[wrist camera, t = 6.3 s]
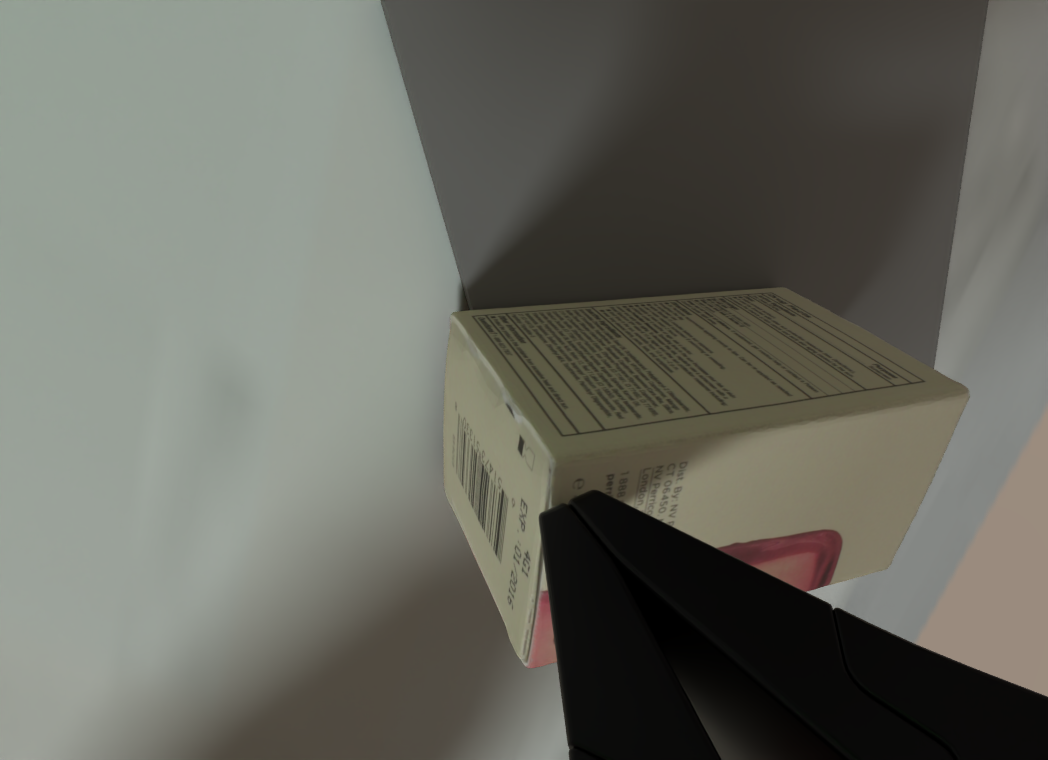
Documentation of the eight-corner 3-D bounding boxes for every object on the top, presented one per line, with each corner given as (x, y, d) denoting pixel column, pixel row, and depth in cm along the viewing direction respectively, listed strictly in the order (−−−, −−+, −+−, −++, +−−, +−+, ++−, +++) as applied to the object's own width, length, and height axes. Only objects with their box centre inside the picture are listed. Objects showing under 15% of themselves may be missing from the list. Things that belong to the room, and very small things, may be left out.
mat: (924, 363, 20) (933, 368, 19) (536, 542, 17) (541, 550, 17) (998, -170, 13) (1014, -173, 13) (380, 0, 10) (384, 0, 10)
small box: (519, 684, 11) (895, 581, 14) (547, 456, 9) (984, 390, 12) (436, 488, 15) (739, 440, 18) (442, 301, 13) (784, 281, 16)
